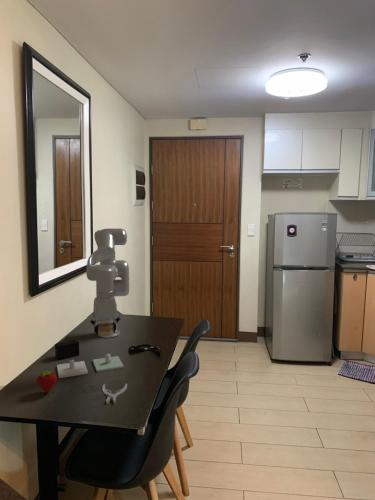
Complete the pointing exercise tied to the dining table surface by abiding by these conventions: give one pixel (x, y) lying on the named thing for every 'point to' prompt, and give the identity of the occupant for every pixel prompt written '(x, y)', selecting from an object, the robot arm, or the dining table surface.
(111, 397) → the pliers
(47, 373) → the strawberry
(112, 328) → the collar
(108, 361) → the plate
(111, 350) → the dining table surface
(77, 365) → the stand
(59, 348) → the digital camera
